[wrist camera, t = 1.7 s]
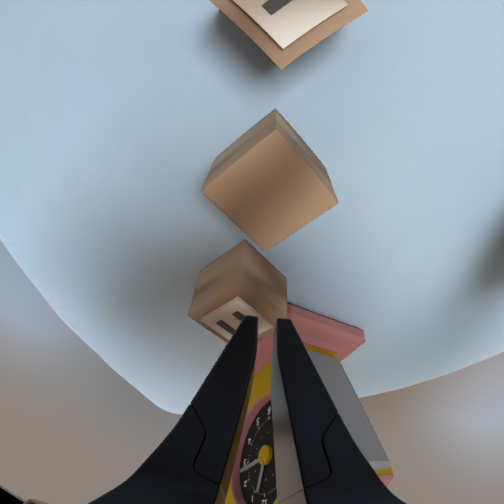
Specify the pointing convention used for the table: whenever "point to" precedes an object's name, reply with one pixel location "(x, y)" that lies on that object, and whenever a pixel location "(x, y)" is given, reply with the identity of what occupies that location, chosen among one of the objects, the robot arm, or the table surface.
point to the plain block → (270, 182)
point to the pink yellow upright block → (260, 409)
